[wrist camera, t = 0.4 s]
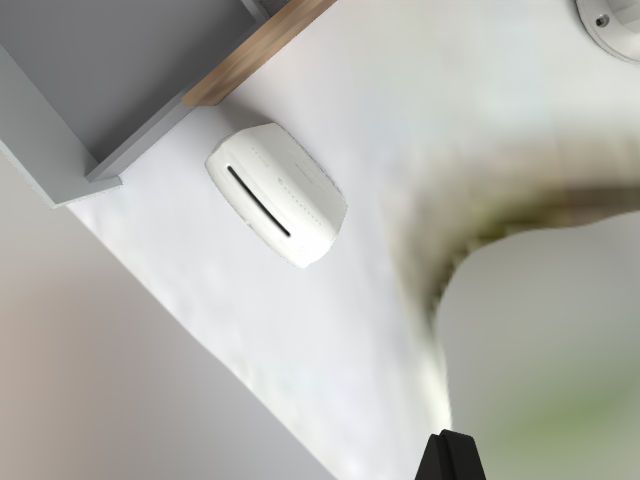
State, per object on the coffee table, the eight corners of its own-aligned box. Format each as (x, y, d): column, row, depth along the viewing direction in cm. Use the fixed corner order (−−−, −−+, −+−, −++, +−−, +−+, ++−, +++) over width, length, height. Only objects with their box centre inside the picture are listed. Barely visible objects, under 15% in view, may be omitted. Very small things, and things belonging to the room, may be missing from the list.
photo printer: (357, 207, 40) (343, 249, 29) (320, 237, 42) (292, 290, 30) (276, 113, 39) (227, 118, 27) (241, 148, 40) (179, 166, 29)
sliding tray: (121, -191, 34) (32, -288, 26) (288, 41, 37) (257, 22, 29) (-37, -2, 40) (-154, -31, 31) (118, 188, 43) (50, 209, 34)
